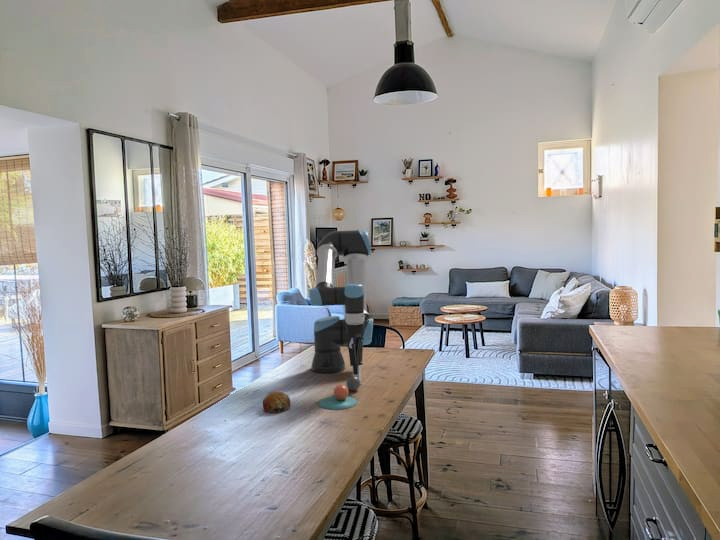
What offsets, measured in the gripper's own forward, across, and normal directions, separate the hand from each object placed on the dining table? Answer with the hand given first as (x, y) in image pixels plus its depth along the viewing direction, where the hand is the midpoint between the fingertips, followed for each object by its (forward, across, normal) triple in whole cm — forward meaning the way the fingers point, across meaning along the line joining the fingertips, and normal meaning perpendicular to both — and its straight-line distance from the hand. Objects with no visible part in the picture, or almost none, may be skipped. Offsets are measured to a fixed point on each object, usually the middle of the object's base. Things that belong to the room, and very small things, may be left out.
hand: (356, 381), depth 212 cm
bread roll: (+2, -32, +19) cm, 37 cm away
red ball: (-1, -17, 0) cm, 17 cm away
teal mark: (+2, -21, 0) cm, 21 cm away
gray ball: (-1, -6, 0) cm, 6 cm away
